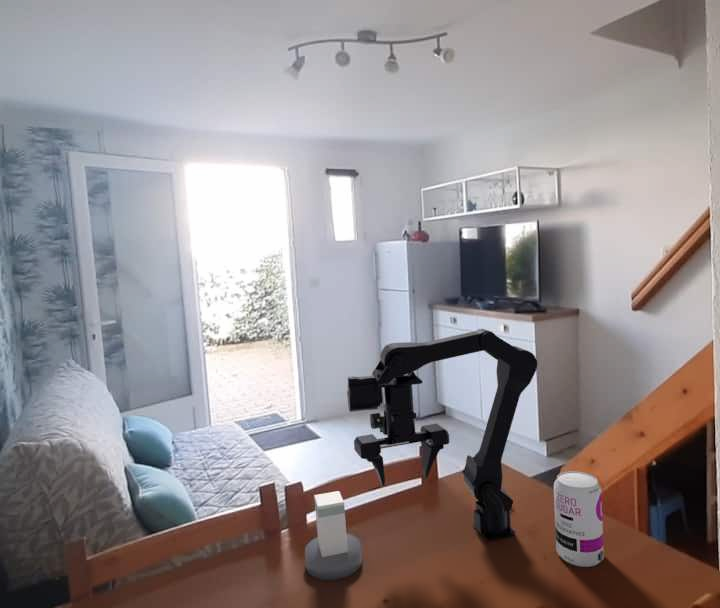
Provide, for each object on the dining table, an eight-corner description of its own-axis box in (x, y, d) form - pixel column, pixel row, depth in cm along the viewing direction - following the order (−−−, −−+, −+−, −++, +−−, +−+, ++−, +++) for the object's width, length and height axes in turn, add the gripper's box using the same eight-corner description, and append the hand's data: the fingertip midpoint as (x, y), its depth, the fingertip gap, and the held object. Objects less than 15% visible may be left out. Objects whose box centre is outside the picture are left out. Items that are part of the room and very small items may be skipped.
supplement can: (603, 547, 98) (600, 472, 97) (604, 572, 91) (601, 491, 90) (558, 540, 102) (555, 468, 100) (555, 564, 94) (551, 486, 93)
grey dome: (353, 542, 107) (352, 528, 106) (369, 571, 96) (367, 556, 96) (301, 553, 104) (300, 539, 103) (311, 585, 93) (310, 570, 93)
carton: (342, 538, 103) (339, 490, 102) (348, 552, 98) (344, 501, 97) (318, 543, 102) (314, 495, 101) (322, 557, 97) (317, 506, 96)
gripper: (426, 391, 113) (430, 459, 114) (344, 403, 108) (350, 474, 109) (448, 403, 102) (452, 478, 104) (359, 417, 97) (364, 496, 99)
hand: (404, 481), depth 104 cm, fingers open, 9 cm apart
